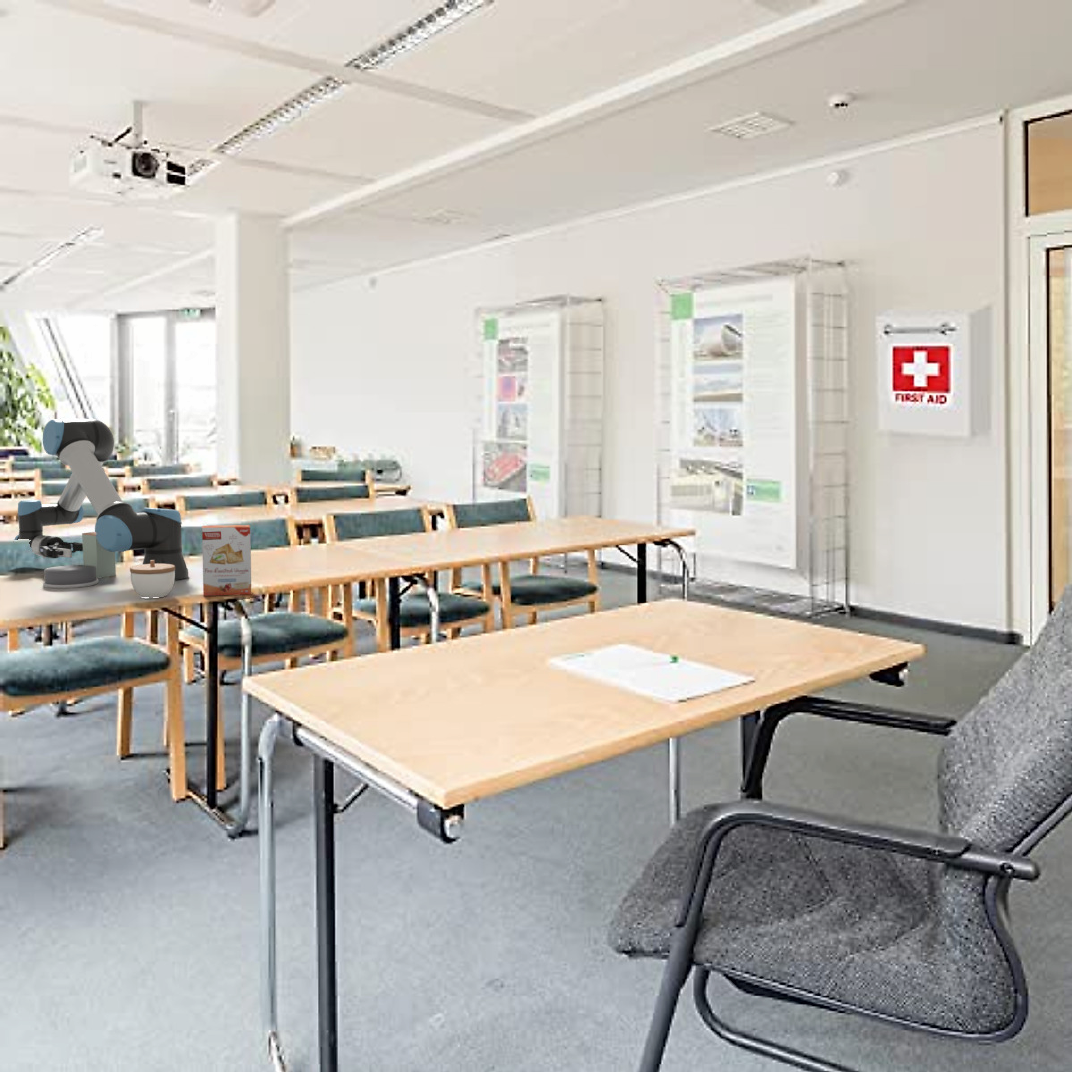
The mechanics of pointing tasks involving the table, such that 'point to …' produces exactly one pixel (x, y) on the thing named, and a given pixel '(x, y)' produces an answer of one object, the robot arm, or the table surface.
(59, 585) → the podium
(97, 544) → the carton
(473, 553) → the table surface
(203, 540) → the cracker box
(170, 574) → the lidded bowl
